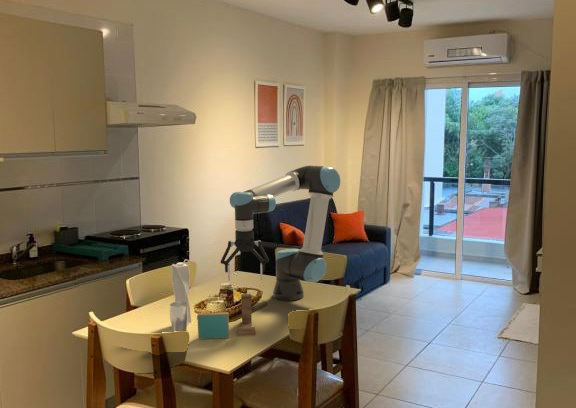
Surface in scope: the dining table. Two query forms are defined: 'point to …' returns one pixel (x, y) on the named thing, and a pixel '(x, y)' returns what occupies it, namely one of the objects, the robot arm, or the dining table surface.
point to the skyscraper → (181, 284)
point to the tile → (213, 325)
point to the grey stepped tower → (246, 316)
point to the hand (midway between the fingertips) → (245, 279)
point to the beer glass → (179, 316)
